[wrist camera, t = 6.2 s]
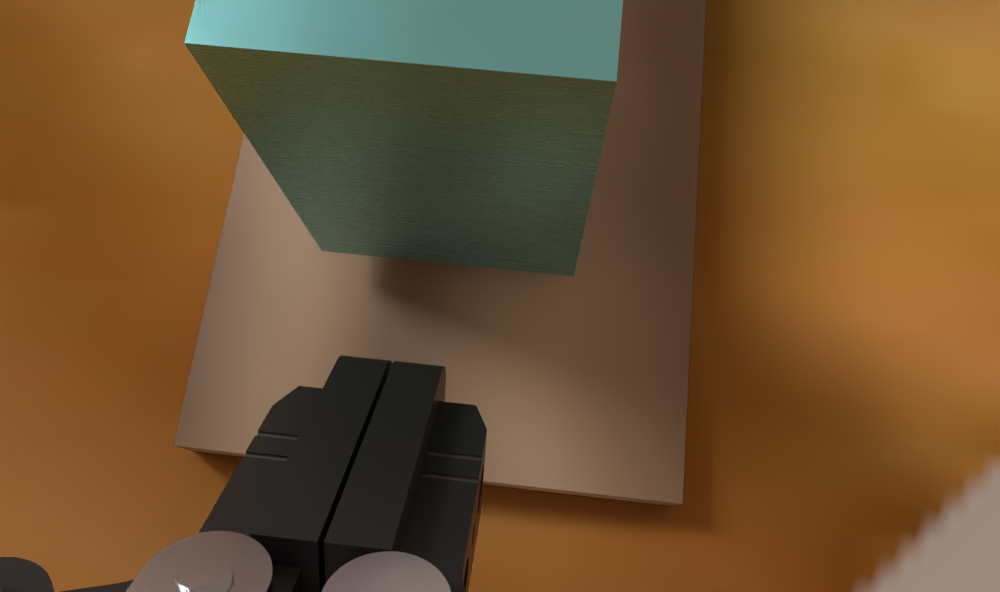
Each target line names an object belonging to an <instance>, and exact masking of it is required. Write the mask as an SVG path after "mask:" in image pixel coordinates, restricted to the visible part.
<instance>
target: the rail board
mask: <svg viewBox="0 0 1000 592" xmlns="http://www.w3.org/2000/svg"><path fill="white" fill-rule="evenodd" d="M705 14H706V0H623V8H622V20H621V33H620V45H619V57H618V69H617V82H616V86H615V91H614V95H613V100H612V104H611V109H610V114H609V118H608V123H607V127H606V132H605V136H604V141H603V145H602V150H601V155H600V159H599V164H598V168H597V173H596V177H595V182H594V187H593V191H592V196H591V200H590V205H589V209H588V214H587V218H586V223H585V228H584V232H583V237H582V241H581V246H580V250H579V255H578V259H577V264H576V269H575V273H574V277H573V276H563V275H553V274H543V273H533V272H524V271H514V270H504V269H494V268H484V267H474V266H464V265H455V264H445V263H435V262H425V261H415V260H405V259H395V258H386V257H376V256H366V255H356V254H346V253H336V252H326V251H321V249H320V247H319V246H318V244H317V243H316V241H315V240H314V238H313V237H312V235H311V234H310V232H309V231H308V229H307V228H306V226H305V225H304V223H303V222H302V220H301V219H300V217H299V216H298V214H297V213H296V211H295V210H294V208H293V207H292V205H291V204H290V202H289V201H288V199H287V198H286V196H285V194H284V193H283V191H282V190H281V188H280V187H279V185H278V184H277V182H276V181H275V179H274V178H273V176H272V175H271V173H270V172H269V170H268V169H267V167H266V166H265V164H264V163H263V161H262V160H261V158H260V157H259V155H258V154H257V152H256V151H255V149H254V148H253V146H252V145H251V143H250V142H249V140H248V138H247V137H246V135H245V134H244V136H243V141H242V145H241V149H240V154H239V158H238V163H237V167H236V171H235V176H234V180H233V185H232V189H231V193H230V198H229V202H228V207H227V211H226V215H225V220H224V224H223V229H222V233H221V237H220V242H219V246H218V251H217V255H216V259H215V264H214V268H213V273H212V277H211V281H210V286H209V290H208V295H207V299H206V303H205V308H204V312H203V317H202V321H201V326H200V330H199V334H198V339H197V343H196V348H195V352H194V356H193V361H192V365H191V370H190V374H189V378H188V383H187V387H186V392H185V396H184V400H183V405H182V409H181V414H180V418H179V422H178V427H177V431H176V436H175V440H174V444H173V446H177V447H180V448H184V449H187V450H191V451H196V452H205V453H214V454H223V455H231V456H240V457H245V455H246V450H247V448H248V447H249V445H250V443H251V442H252V440H253V438H254V436H257V434H258V429H259V428H260V426H261V424H262V422H263V421H264V419H265V417H266V416H267V414H268V412H269V410H270V409H271V407H272V405H274V404H275V403H276V402H278V401H279V400H281V399H282V398H283V397H285V396H286V395H287V394H289V393H290V392H291V391H293V390H294V389H295V388H297V387H298V386H306V387H315V388H323V387H324V385H325V383H326V381H327V379H328V377H329V375H330V373H331V371H332V369H333V367H334V365H335V363H336V361H337V359H338V358H339V357H340V356H341V355H344V356H353V357H362V358H371V359H380V360H390V361H392V363H393V362H394V361H401V362H410V363H419V364H428V365H437V366H445V368H446V389H445V402H452V403H461V404H470V405H476V406H477V408H478V410H479V413H480V415H481V417H482V419H483V422H484V424H485V426H486V428H487V437H486V450H485V463H484V476H483V484H484V485H493V486H501V487H510V488H519V489H527V490H536V491H545V492H554V493H562V494H571V495H580V496H588V497H597V498H606V499H615V500H623V501H632V502H641V503H649V504H658V505H667V506H676V505H680V504H683V485H684V463H685V442H686V421H687V399H688V378H689V356H690V335H691V314H692V292H693V271H694V249H695V228H696V207H697V185H698V164H699V142H700V121H701V100H702V78H703V57H704V35H705Z"/></svg>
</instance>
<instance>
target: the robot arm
mask: <svg viewBox="0 0 1000 592" xmlns="http://www.w3.org/2000/svg"><path fill="white" fill-rule="evenodd" d="M445 389H446V368H445V366H437V365H428V364H419V363H410V362H401V361H394V362H393V363H392V361H390V360H380V359H371V358H362V357H353V356H344V355H341V356H340V357H339V358H338V359H337V361H336V363H335V365H334V367H333V369H332V371H331V373H330V375H329V377H328V379H327V381H326V383H325V385H324V387H323V388H315V387H306V386H298V387H297V388H295V389H294V390H293V391H291V392H290V393H289V394H287V395H286V396H285V397H283V398H282V399H281V400H279V401H278V402H276V403H275V404H274V405H272V407H271V409H270V410H269V412H268V414H267V416H266V417H265V419H264V421H263V422H262V424H261V426H260V428H259V429H258V434H257V436H254V438H253V440H252V442H251V443H250V445H249V447H248V448H247V450H246V455H245V457H242V459H241V461H240V462H239V464H238V466H237V468H236V469H235V471H234V473H233V474H232V476H231V478H230V480H229V481H228V483H227V485H226V487H225V488H224V490H223V492H222V494H221V495H220V497H219V499H218V500H217V502H216V504H215V506H214V507H213V509H212V511H211V513H210V514H209V516H208V518H207V520H206V521H205V523H204V525H203V526H202V528H201V530H200V532H199V533H198V534H194V535H190V536H188V537H185V538H182V539H180V540H178V541H176V542H174V543H172V544H170V545H168V546H167V547H165V548H164V549H162V550H161V551H159V552H158V553H157V554H156V555H155V556H153V557H152V558H151V559H150V560H149V561H148V563H147V564H146V565H145V566H144V567H143V569H142V570H141V571H140V573H139V574H138V575H137V577H136V578H135V579H134V580H130V581H127V582H122V583H117V584H111V585H104V586H97V587H90V588H83V589H76V590H69V591H62V592H468V588H469V582H470V576H471V569H472V563H473V557H474V551H475V544H476V538H477V532H478V526H479V520H480V514H481V503H482V490H483V476H484V463H485V450H486V437H487V428H486V426H485V424H484V422H483V419H482V417H481V415H480V413H479V410H478V408H477V406H476V405H470V404H461V403H452V402H445ZM0 592H54V589H53V586H52V582H51V579H50V577H49V575H48V573H47V572H46V571H45V570H44V569H43V568H42V567H41V566H39V565H38V564H36V563H34V562H31V561H29V560H26V559H21V558H15V557H0Z"/></svg>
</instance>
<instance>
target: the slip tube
mask: <svg viewBox="0 0 1000 592" xmlns="http://www.w3.org/2000/svg"><path fill="white" fill-rule="evenodd" d="M622 8H623V0H195V4H194V8H193V12H192V16H191V20H190V23H189V27H188V31H187V35H186V39H185V45H186V46H187V48H188V49H189V51H190V52H191V54H192V55H193V57H194V58H195V60H196V61H197V63H198V64H199V66H200V67H201V69H202V70H203V72H204V73H205V75H206V76H207V78H208V79H209V81H210V82H211V84H212V85H213V87H214V89H215V90H216V92H217V93H218V95H219V96H220V98H221V99H222V101H223V102H224V104H225V105H226V107H227V108H228V110H229V111H230V113H231V114H232V116H233V117H234V119H235V120H236V122H237V123H238V125H239V126H240V128H241V129H242V131H243V132H244V134H245V135H246V137H247V138H248V140H249V142H250V143H251V145H252V146H253V148H254V149H255V151H256V152H257V154H258V155H259V157H260V158H261V160H262V161H263V163H264V164H265V166H266V167H267V169H268V170H269V172H270V173H271V175H272V176H273V178H274V179H275V181H276V182H277V184H278V185H279V187H280V188H281V190H282V191H283V193H284V194H285V196H286V198H287V199H288V201H289V202H290V204H291V205H292V207H293V208H294V210H295V211H296V213H297V214H298V216H299V217H300V219H301V220H302V222H303V223H304V225H305V226H306V228H307V229H308V231H309V232H310V234H311V235H312V237H313V238H314V240H315V241H316V243H317V244H318V246H319V247H320V249H321V251H326V252H336V253H346V254H356V255H366V256H376V257H386V258H395V259H405V260H415V261H425V262H435V263H445V264H455V265H464V266H474V267H484V268H494V269H504V270H514V271H524V272H533V273H543V274H553V275H563V276H573V277H574V273H575V269H576V264H577V259H578V255H579V250H580V246H581V241H582V237H583V232H584V228H585V223H586V218H587V214H588V209H589V205H590V200H591V196H592V191H593V187H594V182H595V177H596V173H597V168H598V164H599V159H600V155H601V150H602V145H603V141H604V136H605V132H606V127H607V123H608V118H609V114H610V109H611V104H612V100H613V95H614V91H615V86H616V82H617V69H618V57H619V45H620V33H621V20H622Z"/></svg>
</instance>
